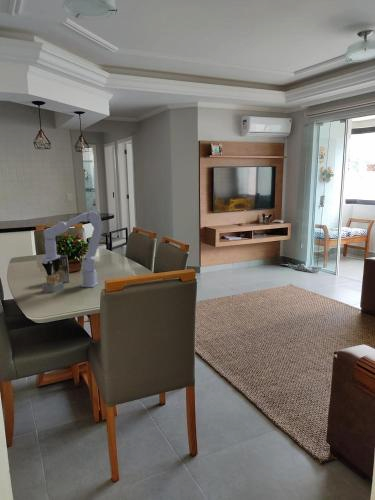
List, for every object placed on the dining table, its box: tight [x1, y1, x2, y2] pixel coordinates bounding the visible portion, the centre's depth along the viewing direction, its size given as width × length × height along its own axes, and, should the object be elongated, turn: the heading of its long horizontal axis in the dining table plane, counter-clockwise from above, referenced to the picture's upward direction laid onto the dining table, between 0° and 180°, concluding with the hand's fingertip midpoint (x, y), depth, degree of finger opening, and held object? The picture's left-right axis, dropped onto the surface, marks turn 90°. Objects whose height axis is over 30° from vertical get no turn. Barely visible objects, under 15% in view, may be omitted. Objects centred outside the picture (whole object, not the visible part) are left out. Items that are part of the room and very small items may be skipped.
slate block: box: [41, 282, 65, 294], centre depth 205 cm, size 8×8×4 cm
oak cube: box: [45, 273, 59, 285], centre depth 204 cm, size 5×5×5 cm
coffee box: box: [52, 254, 71, 283], centre depth 221 cm, size 9×6×16 cm
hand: (53, 273), depth 203 cm, fingers open, 7 cm apart
